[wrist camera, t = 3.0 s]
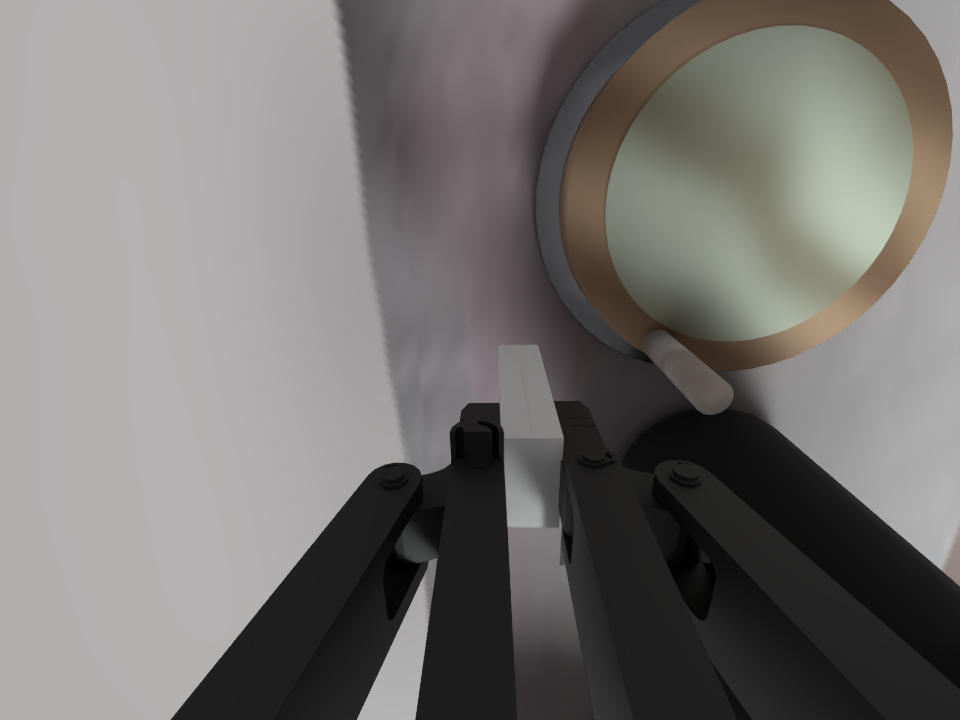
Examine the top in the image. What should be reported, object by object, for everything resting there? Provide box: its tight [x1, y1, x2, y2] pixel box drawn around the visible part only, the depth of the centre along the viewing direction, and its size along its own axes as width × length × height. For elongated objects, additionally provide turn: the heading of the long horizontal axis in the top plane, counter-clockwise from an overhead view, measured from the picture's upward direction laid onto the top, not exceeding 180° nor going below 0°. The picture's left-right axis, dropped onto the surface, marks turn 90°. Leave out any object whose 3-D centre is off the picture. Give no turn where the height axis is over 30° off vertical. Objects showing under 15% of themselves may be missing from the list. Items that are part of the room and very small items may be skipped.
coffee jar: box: [622, 409, 960, 720], centre depth 20 cm, size 11×11×18 cm
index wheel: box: [558, 0, 953, 415], centre depth 18 cm, size 16×16×9 cm
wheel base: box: [535, 0, 703, 364], centre depth 22 cm, size 18×18×1 cm
